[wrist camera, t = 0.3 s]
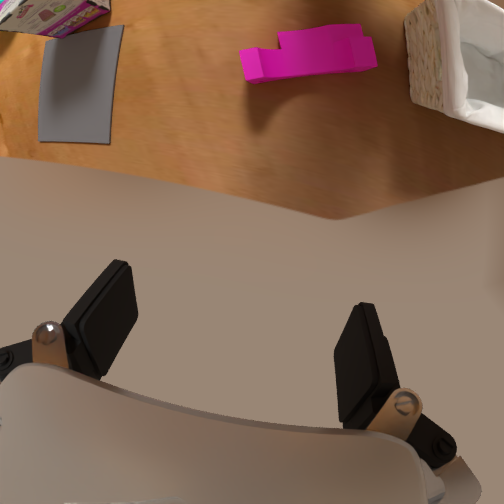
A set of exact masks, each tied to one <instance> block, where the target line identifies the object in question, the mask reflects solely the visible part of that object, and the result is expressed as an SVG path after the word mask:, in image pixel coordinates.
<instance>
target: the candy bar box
mask: <svg viewBox="0 0 504 504" xmlns="http://www.w3.org/2000/svg"><path fill="white" fill-rule="evenodd" d="M109 11H110V0H4V1H3V2H2V3H1V4H0V31H10V32H20V33H28V34H35V35H43V36H48V37H54V38H60V39H63V38H64V37H66V36H67V35H69V34H70V33H72V32H74V31H75V30H77V29H78V28H80V27H82V26H83V25H85V24H87V23H88V22H90V21H92V20H94V19H96V18H98V17H99V16H101V15H103V14H105V13H107V12H109Z"/></svg>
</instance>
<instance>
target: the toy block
mask: <svg viewBox="0 0 504 504" xmlns="http://www.w3.org/2000/svg"><path fill="white" fill-rule="evenodd" d="M277 33H278V39H279V43H280V47H281V49H261V48H258V47H255V48H250V49H245V50H240V51H239V53H240V58H241V62H242V66H243V70H244V75H245V79H246V81H248V82H250V83H252V84H257V83H263V82H268V81H274V80H280V79H287V78H294V77H302V76H310V75H320V74H331V73H345V72H363V71H366V70H368V69H371V68H374V67H377V66H378V65H377V60H376V55H375V51H374V46H373V42H372V38H371V37H364V36H363V32H362V28H361V25H360V24H333V25H325V26H321V27H316V28H311V29H304V30H296V31H286V32H277Z"/></svg>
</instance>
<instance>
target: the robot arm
mask: <svg viewBox="0 0 504 504" xmlns="http://www.w3.org/2000/svg"><path fill="white" fill-rule="evenodd" d="M137 318H138V308H137V302H136V296H135V289H134V283H133V276H132V269H131V266H129V265H128V263H127V262H126V261H121V260H117V259H115V260H113V261H112V262H111V263H110V264H109V266H108V267H107V268H106V269H105V270H104V271H103V272H102V273H101V275H100V276H99V277H98V278H97V279H96V280H95V282H94V283H93V284H92V285H91V286H90V287H89V289H88V290H87V291H86V292H85V293H84V294H83V296H82V297H81V298H80V299H79V301H78V302H77V303H76V304H75V305H74V307H73V308H72V309H71V310H70V312H69V313H68V314H67V315H66V317H65V318H64V319H63V322H62V323H61V324H59V323H57V322H54V321H47V322H44V323H41V324H40V325H39V326H37V327H36V328H35V330H34V332H33V333H32V339H30V340H27V341H23V342H20V343H16V344H13V345H10V346H6V347H3V348H0V504H475V503H476V502H477V501H478V499H479V498H480V496H481V492H482V491H481V485H480V483H479V481H478V480H477V478H476V477H475V475H474V474H473V473H472V471H471V470H470V468H469V467H468V466H467V464H466V463H465V461H464V460H463V459H462V457H461V456H459V457H457V456H456V451H457V446H456V442H455V440H454V439H453V437H452V436H451V435H450V434H449V433H447V432H446V431H445V430H443V429H442V428H441V427H439V426H438V425H437V424H435V423H434V422H433V421H431V420H430V419H429V418H427V417H426V416H425V415H424V414H422V409H423V404H422V401H421V398H420V397H419V395H418V394H417V393H415V392H414V391H413V390H411V389H408V388H400V385H399V380H398V376H397V372H396V368H395V364H394V361H393V357H392V353H391V350H390V346H389V343H388V340H387V338H386V337H385V336H384V335H383V332H382V328H381V325H380V322H379V319H378V315H377V312H376V309H375V306H374V304H371V303H364V302H360V303H359V304H358V305H355V306H354V307H353V310H352V312H351V314H350V317H349V319H348V321H347V323H346V326H345V328H344V330H343V332H342V334H341V336H340V339H339V341H338V343H337V345H336V347H335V350H334V362H335V374H336V386H337V397H338V398H337V399H338V412H339V421H340V422H343V429H339V428H320V427H307V426H296V425H285V424H276V423H268V422H260V421H254V420H247V419H241V418H235V417H229V416H224V415H219V414H214V413H209V412H204V411H200V410H195V409H191V408H187V407H183V406H179V405H175V404H171V403H168V402H164V401H160V400H157V399H154V398H150V397H147V396H143V395H140V394H137V393H134V392H131V391H128V390H124V389H122V388H119V387H116V386H113V385H111V384H108V383H105V382H102V381H100V379H101V377H102V376H105V375H106V374H107V372H108V370H109V368H110V367H111V365H112V363H113V361H114V359H115V357H116V356H117V354H118V352H119V350H120V349H121V347H122V345H123V343H124V341H125V340H126V338H127V336H128V334H129V333H130V331H131V329H132V328H133V326H134V324H135V322H136V321H137Z"/></svg>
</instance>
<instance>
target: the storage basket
mask: <svg viewBox="0 0 504 504" xmlns="http://www.w3.org/2000/svg"><path fill="white" fill-rule="evenodd" d="M404 25H405V30H406V32H405V36H406V41H407V53H408V56H409V57H408V68H409V72H410V74H409V83H410V97H411V100H412V102H413V103H415V104H419V105H421V106H424V107H427V108H429V109H433V110H438V111H440V112H441V113H444V114H445V115H447V116H449V117H452V118H456V119H459V120H462V121H465V122H467V123H470V124H473V125H477V126H480V127H484V128H487V129H491V130H494V131H497V132H500V133H504V9H502V8H500V7H498V6H497V5H495V4H493V3H491V2H489V1H487V0H425V1H424V2H423V3H420V4H419V5H418V7H417V8H414V10H412V11H411V12H410V13H409V14H407V16H406V17H405V20H404Z"/></svg>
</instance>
